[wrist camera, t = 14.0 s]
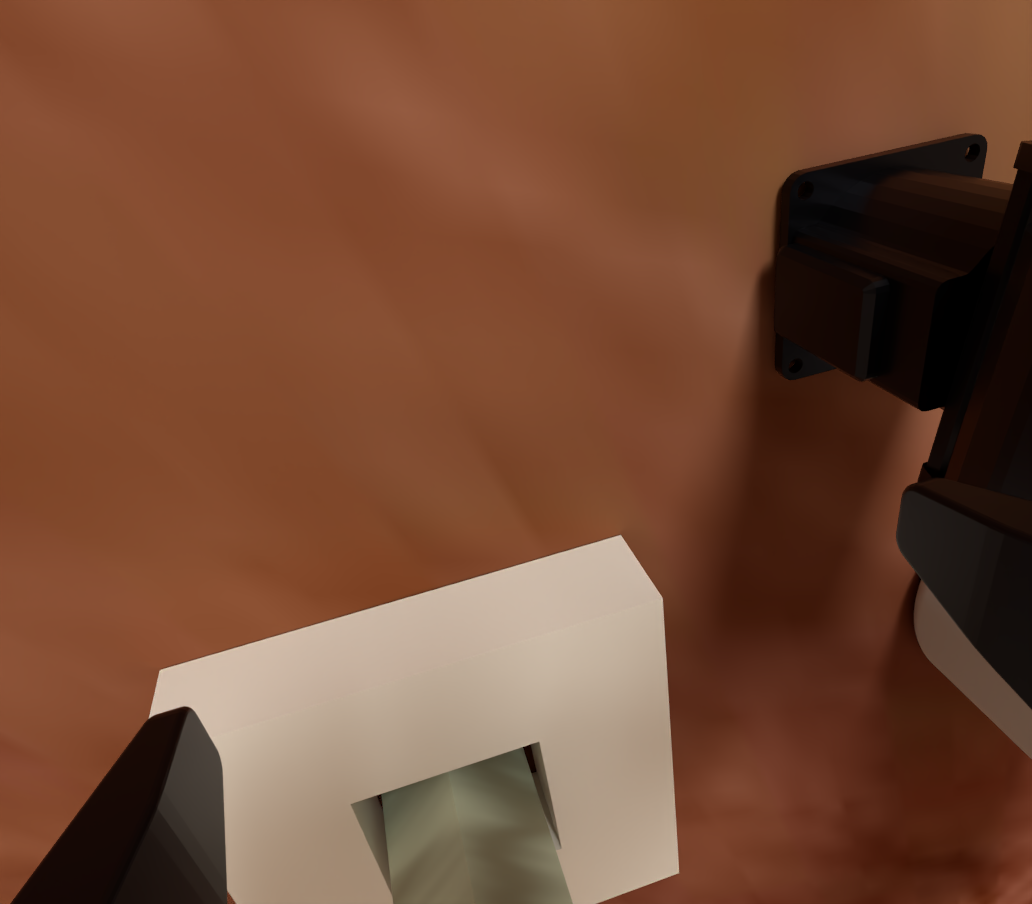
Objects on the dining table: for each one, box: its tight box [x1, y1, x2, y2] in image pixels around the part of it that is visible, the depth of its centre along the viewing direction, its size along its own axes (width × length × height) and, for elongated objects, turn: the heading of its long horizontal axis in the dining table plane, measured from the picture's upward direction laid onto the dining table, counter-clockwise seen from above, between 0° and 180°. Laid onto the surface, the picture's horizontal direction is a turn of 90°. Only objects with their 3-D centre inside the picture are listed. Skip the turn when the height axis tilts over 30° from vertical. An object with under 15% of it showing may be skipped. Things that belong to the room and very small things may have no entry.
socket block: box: [149, 535, 679, 904], centre depth 27 cm, size 16×16×4 cm
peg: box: [381, 747, 573, 904], centre depth 25 cm, size 4×4×10 cm
